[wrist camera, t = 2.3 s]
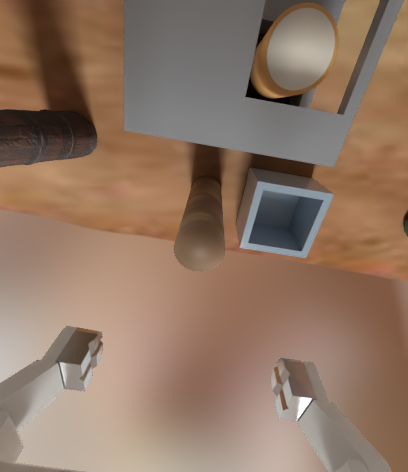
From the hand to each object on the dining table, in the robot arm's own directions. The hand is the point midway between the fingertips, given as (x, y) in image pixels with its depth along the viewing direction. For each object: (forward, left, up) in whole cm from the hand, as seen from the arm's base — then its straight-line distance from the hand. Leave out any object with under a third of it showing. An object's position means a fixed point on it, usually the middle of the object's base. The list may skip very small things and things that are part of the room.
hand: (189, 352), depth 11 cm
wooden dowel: (0, 0, -24) cm, 24 cm away
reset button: (+4, +14, -20) cm, 25 cm away
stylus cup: (+9, 0, -24) cm, 25 cm away
